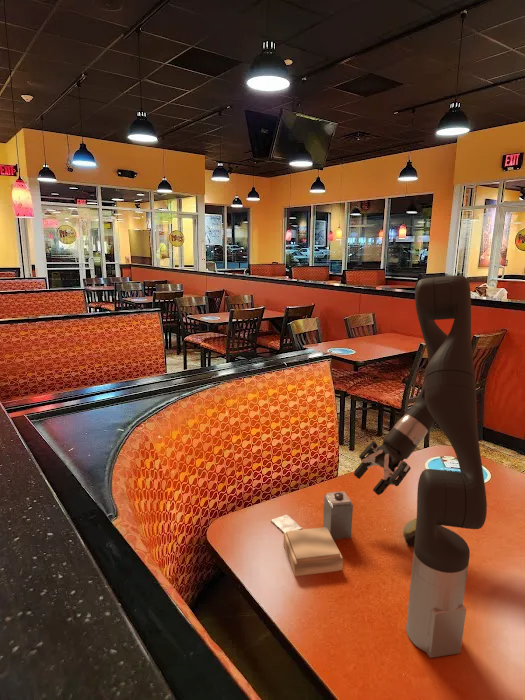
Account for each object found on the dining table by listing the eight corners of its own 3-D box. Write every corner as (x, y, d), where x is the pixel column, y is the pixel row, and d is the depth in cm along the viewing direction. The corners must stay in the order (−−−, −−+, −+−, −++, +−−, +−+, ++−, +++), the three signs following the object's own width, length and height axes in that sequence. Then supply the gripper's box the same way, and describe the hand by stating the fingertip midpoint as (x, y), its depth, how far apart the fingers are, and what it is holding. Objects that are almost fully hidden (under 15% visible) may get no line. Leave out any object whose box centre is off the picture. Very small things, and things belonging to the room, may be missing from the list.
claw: (431, 559, 106) (433, 546, 106) (391, 540, 113) (392, 528, 113) (463, 525, 121) (464, 513, 120) (425, 510, 127) (426, 499, 127)
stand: (342, 570, 102) (343, 554, 101) (294, 576, 100) (295, 560, 99) (326, 539, 113) (327, 525, 112) (283, 544, 111) (283, 530, 110)
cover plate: (302, 531, 117) (302, 528, 117) (285, 537, 115) (286, 534, 114) (286, 517, 123) (286, 514, 123) (271, 523, 120) (271, 519, 120)
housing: (351, 537, 114) (353, 499, 111) (329, 540, 113) (331, 501, 110) (343, 524, 119) (345, 488, 117) (323, 527, 118) (324, 490, 116)
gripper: (380, 418, 123) (342, 464, 121) (417, 439, 110) (374, 491, 108) (395, 433, 126) (357, 479, 124) (432, 455, 113) (391, 506, 111)
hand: (365, 484), depth 116 cm, fingers open, 8 cm apart
